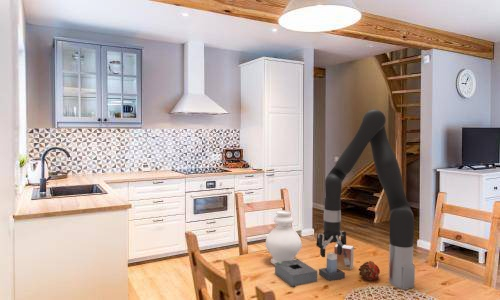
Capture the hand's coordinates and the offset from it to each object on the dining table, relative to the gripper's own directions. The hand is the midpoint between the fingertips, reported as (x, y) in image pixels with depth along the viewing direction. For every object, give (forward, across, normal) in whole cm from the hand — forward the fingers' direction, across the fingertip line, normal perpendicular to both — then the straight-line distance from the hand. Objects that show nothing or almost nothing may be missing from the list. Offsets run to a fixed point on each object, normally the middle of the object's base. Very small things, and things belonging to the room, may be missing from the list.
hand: (331, 255), depth 161 cm
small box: (+10, +12, +7) cm, 17 cm away
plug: (+9, 0, 0) cm, 9 cm away
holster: (+10, 0, 0) cm, 10 cm away
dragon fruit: (+10, +14, -8) cm, 19 cm away
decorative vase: (+10, -10, +26) cm, 29 cm away
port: (+10, -15, +6) cm, 19 cm away
